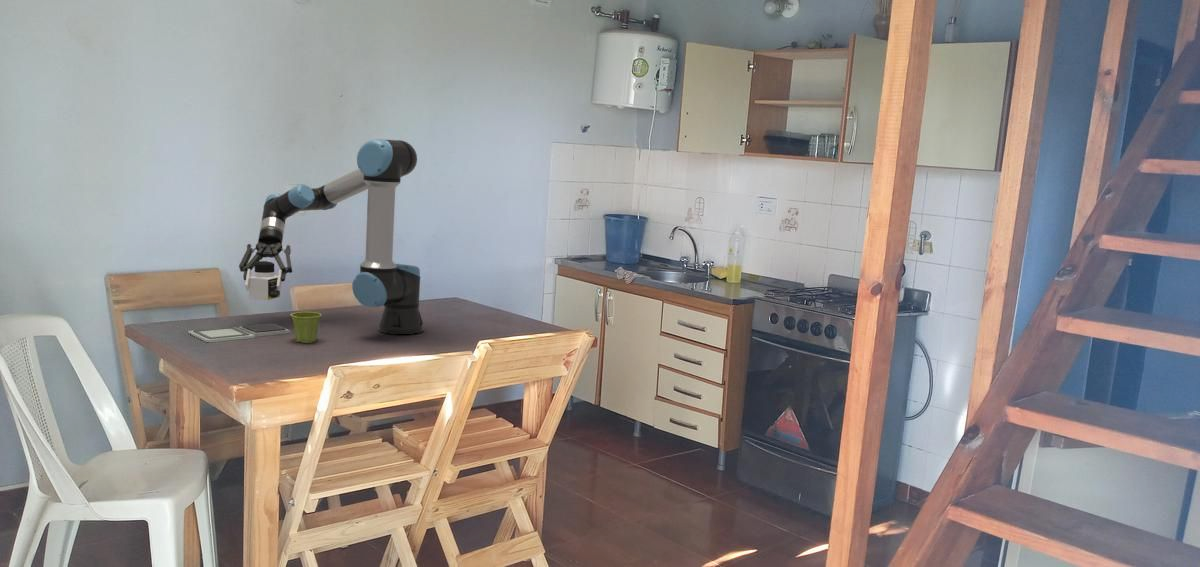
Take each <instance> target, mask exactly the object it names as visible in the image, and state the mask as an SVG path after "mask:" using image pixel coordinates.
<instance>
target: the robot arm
mask: <svg viewBox="0 0 1200 567" xmlns="http://www.w3.org/2000/svg"><path fill="white" fill-rule="evenodd" d="M417 163H418V154H417V152H416V150H415V148H414V147H413V146H412V144H410V143H408V141H405V140H402V139H401V140H399V139H398V140H397V139H396V140H395V139H384V138H383V139H382V138H376V139H370V140H368V141H365V143H363V145H362V146H360V148H359V150H358V152H357V155H356V164H357V169H355V170H353V171H351V172H348V173H347V174H344V175H342V176H340V177H338V178H336V179H334V180H332V181H330V182H327V183H326V184H324V185H321V186H319V187H315V188H311V187H310V186H309V185H307V184H304V183H303V184H301V183H300V184H297V185H296V186H293V187H291V189H289V190H288V191H286V192H285V193H282V194H280V193H274V194H269V195H268V196H266V199H265V201H264V205H263V212H262V216H261V222H260V224H261V225H260V229H259V234H258V239H257V243H256V245H255V244H254V245H252V244H250V243H248V244H247V245H246V251H245V253H244V255H243V257H242V259H241V261H240V262H239V265H238V268H239V272H243V281H245V283H244V285H245V290H246V291H249V277H252V270H253V269H255V263H256V262H259V261H260V260H261V261H262V260H263V258H270V259H271V258H274V260H275V262H276V263H277V265H278V266H279V270H278V275H277V276H278V280H277V290H278V291H280V292H281V289H282V282H285V281H286V276H287V274H288V273H289V274H291V273H293V267H292V261H291V252H292V250H291V249H292V248H291V246H290V245H289V244H287V245H286V246H283V239H284V232H285V226H286V220H287V219H288V218H290V217H291V216H293V215H295V214H297V213H299V212H304V211H305V212H306V211H327V210H331V209H334V208H336V206H337V205H338V203H340V202H343V201H345V200H347V199H349V198H351V197H353V196H356V195H358V194H360V193H363V192H365V191H366V190H367V205H366V206H367V208H366V210H367V211H366V230H365V231H366V232H365V234H366V236H365V237H366V238H365V256H364V257H365V259H364V260H363V261H362V262H361V263H360V266H359V273H357V275H356V276H355V277H354V278H353V280H352V289H351V290H352V293H353V296H354V297H355V299H356V300H357V301H358V303H360V304H361V305H362V306H364V307H367V308H379V307H382V306H384V307H383V311H382V314H381V316H380V319H379V322H378V325H377V329H378V330H377V331H378V332H380V333H382V332H383V334H387V333H389V334H388V335H395V334H411V335H415V334H414V333H418V334H421V333H423V332H424V323H423V319H422V316H421V312H420V292H421V291H420V288H421V287H420V286H421V270H420V268H419V267H418V266H417V265H411V264H405V263H404V264H403V263H395V262H394V261H393V254H394V252H393V251H394V248H393V247H394V231H395V230H394V228H395V208H396V207H395V206H396V188H397V187H398V186H399V185H400V184H401V181H402V180H401V179H402V177H404V176H407V175H409V174H410V173H412V172H413V171H414V170H415V169H416V167H417ZM255 250H256V253H255V254H254V256H252V255H253V253H254V252H255ZM282 251H283V253H284V254H285V259H286V264H287V265H286V266H285V265H284V264H285V263H284V262H283V261H282V258H281V256H280V253H281V252H282ZM251 257H252V258H251ZM422 331H423V332H422ZM420 332H421V333H420Z"/></svg>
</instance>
